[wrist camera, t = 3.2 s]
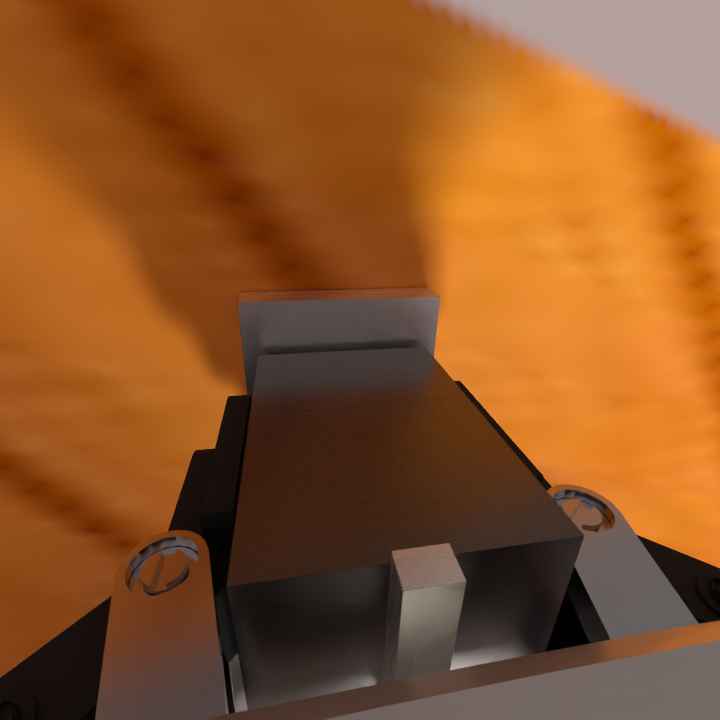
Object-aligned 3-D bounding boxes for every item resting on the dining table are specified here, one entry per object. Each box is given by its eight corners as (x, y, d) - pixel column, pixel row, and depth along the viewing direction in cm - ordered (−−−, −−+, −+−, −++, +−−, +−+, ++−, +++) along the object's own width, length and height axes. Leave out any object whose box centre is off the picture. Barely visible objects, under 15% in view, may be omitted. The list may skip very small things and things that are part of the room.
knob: (413, 475, 13) (538, 759, 6) (270, 490, 12) (258, 827, 6) (425, 339, 11) (618, 558, 5) (257, 348, 10) (216, 619, 4)
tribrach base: (423, 786, 25) (437, 849, 23) (6, 766, 17) (-38, 859, 15) (745, 478, 18) (814, 523, 16) (286, 202, 10) (286, 208, 8)
